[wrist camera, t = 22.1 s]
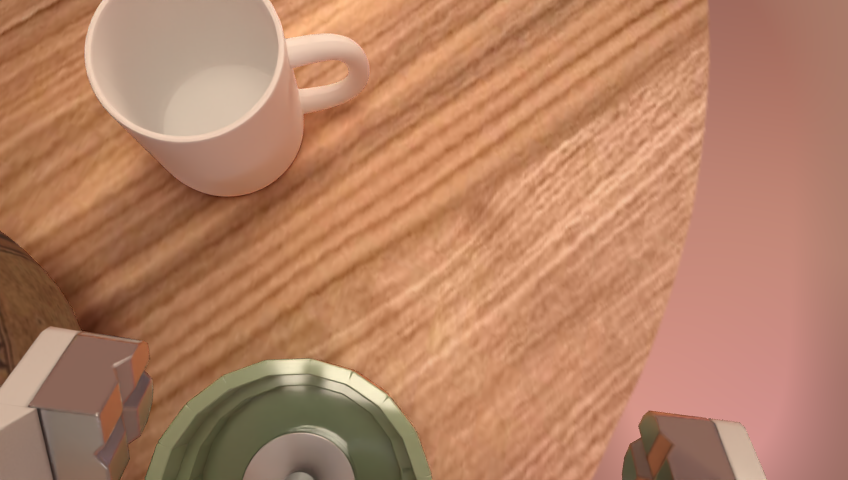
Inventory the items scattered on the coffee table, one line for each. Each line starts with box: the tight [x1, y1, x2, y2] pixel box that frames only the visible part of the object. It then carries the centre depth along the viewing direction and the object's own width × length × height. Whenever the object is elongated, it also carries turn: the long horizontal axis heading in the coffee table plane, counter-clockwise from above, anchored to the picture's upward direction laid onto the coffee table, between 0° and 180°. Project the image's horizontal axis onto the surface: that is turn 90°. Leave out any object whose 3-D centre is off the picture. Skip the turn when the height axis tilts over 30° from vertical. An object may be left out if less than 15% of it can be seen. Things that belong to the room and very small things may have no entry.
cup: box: [84, 0, 369, 197], centre depth 35 cm, size 8×12×10 cm
